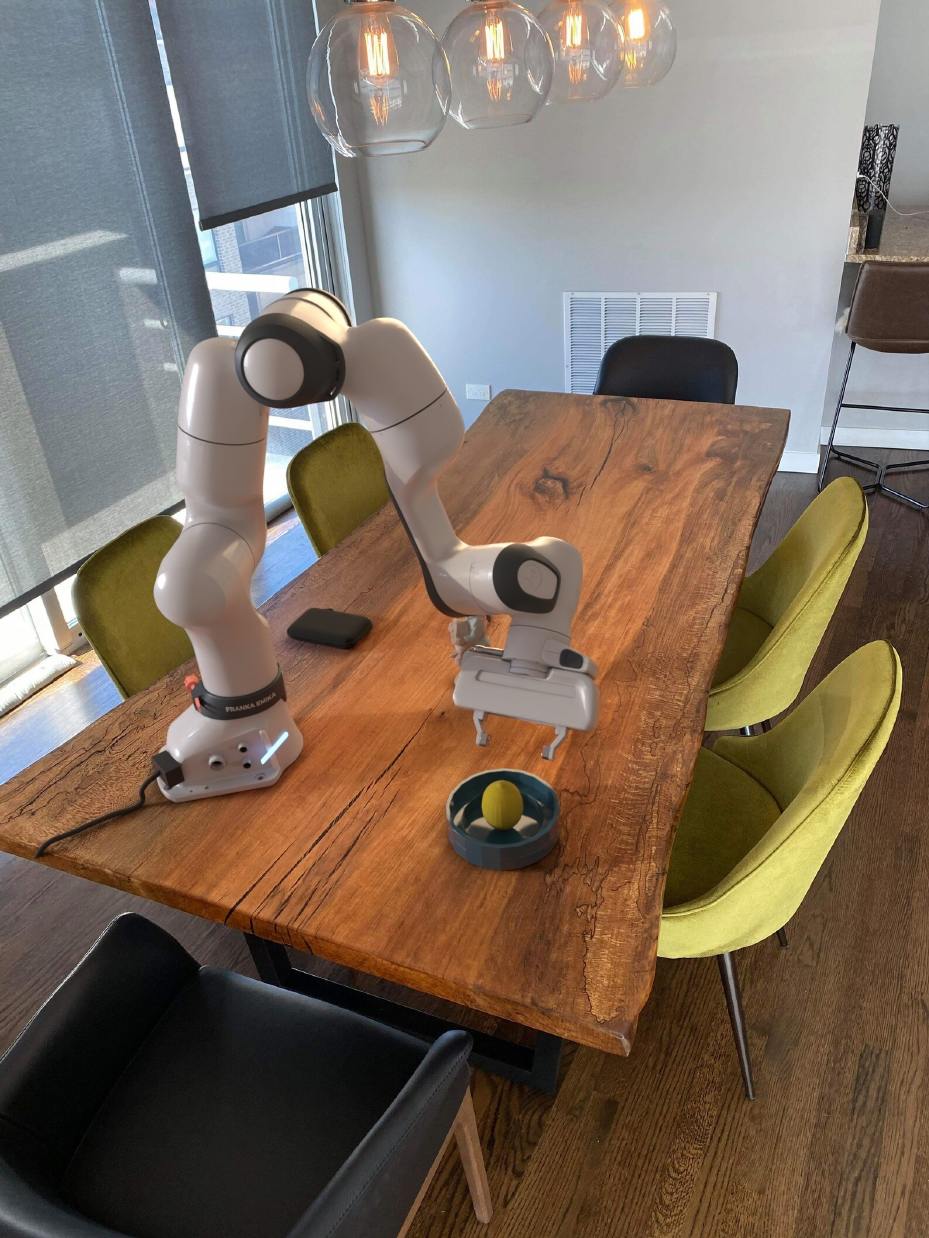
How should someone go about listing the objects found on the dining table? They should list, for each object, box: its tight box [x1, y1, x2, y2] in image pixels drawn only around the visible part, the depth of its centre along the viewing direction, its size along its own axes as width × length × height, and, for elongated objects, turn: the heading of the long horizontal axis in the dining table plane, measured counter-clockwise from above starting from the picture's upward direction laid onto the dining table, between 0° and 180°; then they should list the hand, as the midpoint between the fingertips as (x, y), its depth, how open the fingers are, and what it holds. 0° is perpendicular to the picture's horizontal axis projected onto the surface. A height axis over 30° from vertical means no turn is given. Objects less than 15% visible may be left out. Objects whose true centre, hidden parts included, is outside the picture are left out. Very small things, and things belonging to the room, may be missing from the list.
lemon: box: [482, 780, 523, 830], centre depth 122 cm, size 6×6×8 cm
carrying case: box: [286, 607, 374, 651], centre depth 170 cm, size 11×3×15 cm
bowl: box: [444, 767, 561, 871], centre depth 123 cm, size 15×15×4 cm
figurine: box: [447, 615, 492, 686], centre depth 150 cm, size 9×8×20 cm
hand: (514, 753), depth 123 cm, fingers open, 8 cm apart
